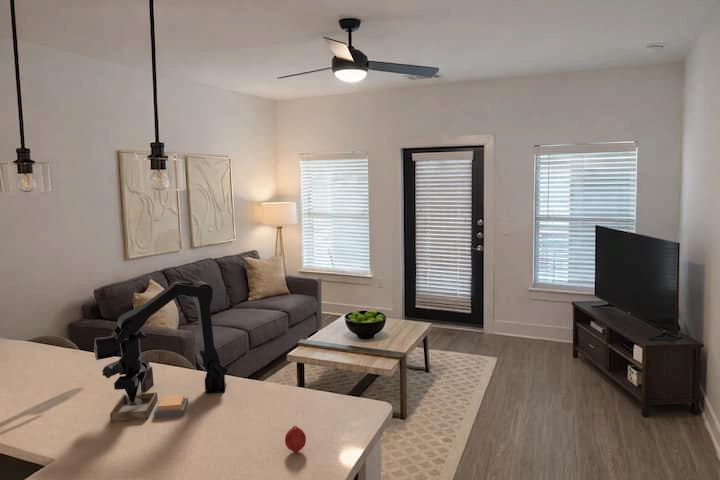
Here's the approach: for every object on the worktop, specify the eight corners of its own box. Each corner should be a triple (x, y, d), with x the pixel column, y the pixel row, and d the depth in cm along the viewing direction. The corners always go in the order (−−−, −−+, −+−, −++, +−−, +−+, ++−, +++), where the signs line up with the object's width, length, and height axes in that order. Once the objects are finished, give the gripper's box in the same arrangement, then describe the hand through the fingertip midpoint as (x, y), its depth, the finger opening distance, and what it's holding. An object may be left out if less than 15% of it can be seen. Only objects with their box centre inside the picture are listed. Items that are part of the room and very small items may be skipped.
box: (154, 385, 189) (152, 366, 188) (145, 392, 183) (144, 372, 182) (138, 384, 189) (137, 365, 188) (129, 391, 183) (128, 372, 182)
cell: (143, 399, 170) (141, 377, 169) (139, 405, 166) (138, 383, 165) (129, 400, 170) (127, 378, 169) (125, 406, 166) (123, 384, 164)
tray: (157, 400, 176) (157, 392, 176) (147, 419, 162) (146, 410, 162) (124, 402, 174) (123, 394, 174) (110, 422, 161) (109, 413, 160)
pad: (184, 400, 172) (184, 395, 172) (180, 410, 165) (180, 404, 165) (163, 402, 171) (162, 396, 171) (158, 412, 164) (157, 406, 164)
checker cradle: (188, 403, 173) (188, 397, 173) (183, 415, 164) (183, 409, 164) (160, 405, 172) (160, 400, 172) (154, 418, 163) (154, 412, 163)
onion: (286, 447, 145) (285, 420, 144) (306, 446, 145) (305, 419, 144) (284, 458, 139) (283, 430, 138) (306, 457, 140) (305, 429, 139)
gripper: (113, 344, 174) (117, 388, 176) (94, 365, 155) (98, 413, 157) (148, 342, 175) (151, 386, 177) (132, 362, 157) (136, 410, 159)
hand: (134, 398), depth 168 cm, fingers closed on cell, 4 cm apart
